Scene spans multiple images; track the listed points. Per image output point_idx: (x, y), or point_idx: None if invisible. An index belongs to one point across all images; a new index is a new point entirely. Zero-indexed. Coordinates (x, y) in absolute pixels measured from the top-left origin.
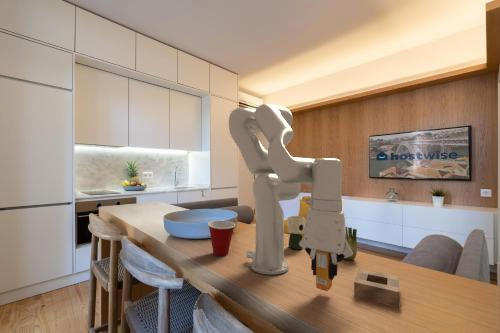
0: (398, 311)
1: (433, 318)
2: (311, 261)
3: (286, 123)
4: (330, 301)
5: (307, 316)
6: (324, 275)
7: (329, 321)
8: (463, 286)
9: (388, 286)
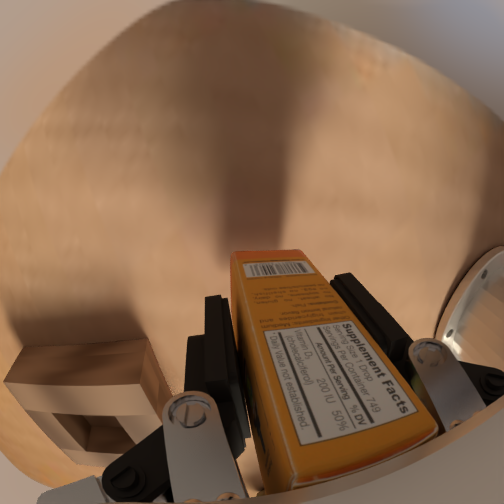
0: (13, 324)
1: None
2: (408, 336)
3: None
4: (207, 227)
5: (246, 33)
6: (267, 293)
7: (147, 61)
8: (40, 471)
9: (42, 405)
